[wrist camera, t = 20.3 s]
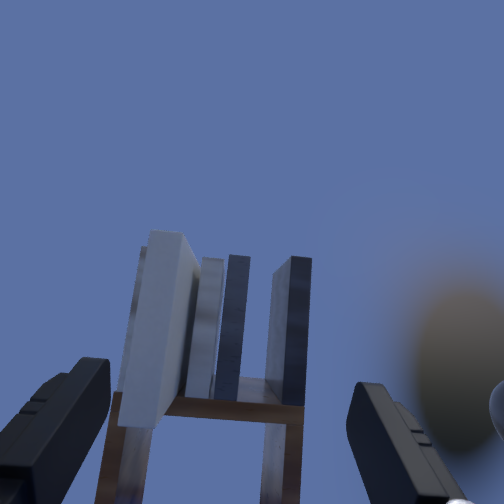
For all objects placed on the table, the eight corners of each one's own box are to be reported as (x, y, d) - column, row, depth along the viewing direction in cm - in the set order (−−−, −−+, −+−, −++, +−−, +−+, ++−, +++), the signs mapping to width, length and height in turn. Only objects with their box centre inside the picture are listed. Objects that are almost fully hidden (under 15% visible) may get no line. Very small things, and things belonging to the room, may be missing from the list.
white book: (154, 429, 18) (183, 232, 21) (116, 426, 18) (150, 228, 21) (191, 372, 38) (204, 274, 40) (173, 371, 38) (187, 272, 40)
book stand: (279, 907, 20) (312, 257, 30) (22, 911, 19) (140, 239, 29) (259, 692, 32) (287, 275, 41) (99, 688, 31) (165, 262, 40)
